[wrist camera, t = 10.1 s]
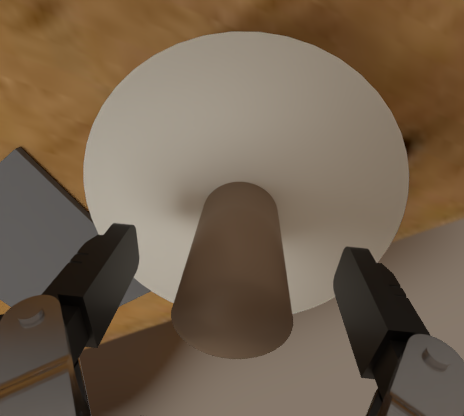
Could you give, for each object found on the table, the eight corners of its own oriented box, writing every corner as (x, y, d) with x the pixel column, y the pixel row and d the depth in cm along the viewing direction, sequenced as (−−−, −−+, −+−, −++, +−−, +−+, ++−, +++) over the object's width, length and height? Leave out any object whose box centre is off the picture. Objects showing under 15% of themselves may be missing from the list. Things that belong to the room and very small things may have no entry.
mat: (-80, 236, 26) (-86, 240, 26) (20, 146, 21) (15, 148, 20) (57, 333, 32) (54, 337, 32) (161, 283, 27) (159, 287, 27)
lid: (65, 15, 11) (-187, -21, 5) (458, 50, 11) (750, 60, 4) (117, 290, 18) (48, 415, 12) (345, 315, 18) (393, 455, 12)
